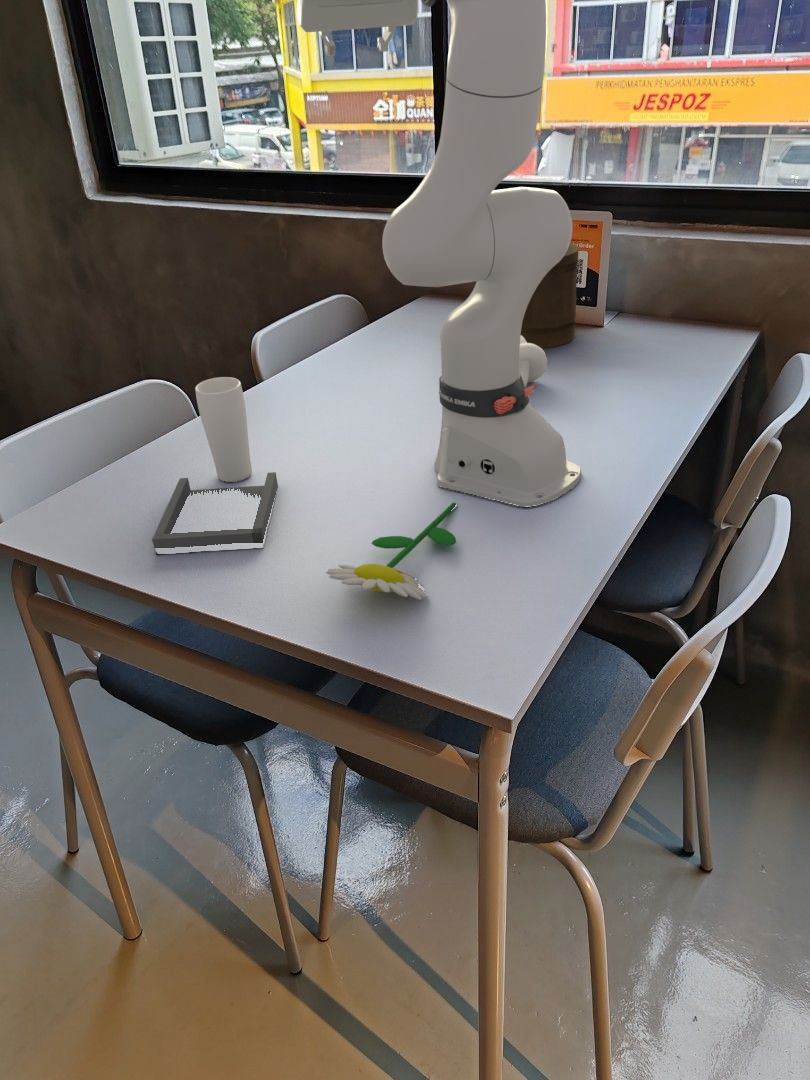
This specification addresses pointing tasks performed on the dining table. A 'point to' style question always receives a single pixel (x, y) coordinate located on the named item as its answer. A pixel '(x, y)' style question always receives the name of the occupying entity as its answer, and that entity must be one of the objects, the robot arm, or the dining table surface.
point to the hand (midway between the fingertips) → (356, 52)
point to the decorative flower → (394, 563)
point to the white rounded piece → (531, 361)
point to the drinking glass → (225, 426)
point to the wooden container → (553, 305)
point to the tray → (205, 538)
